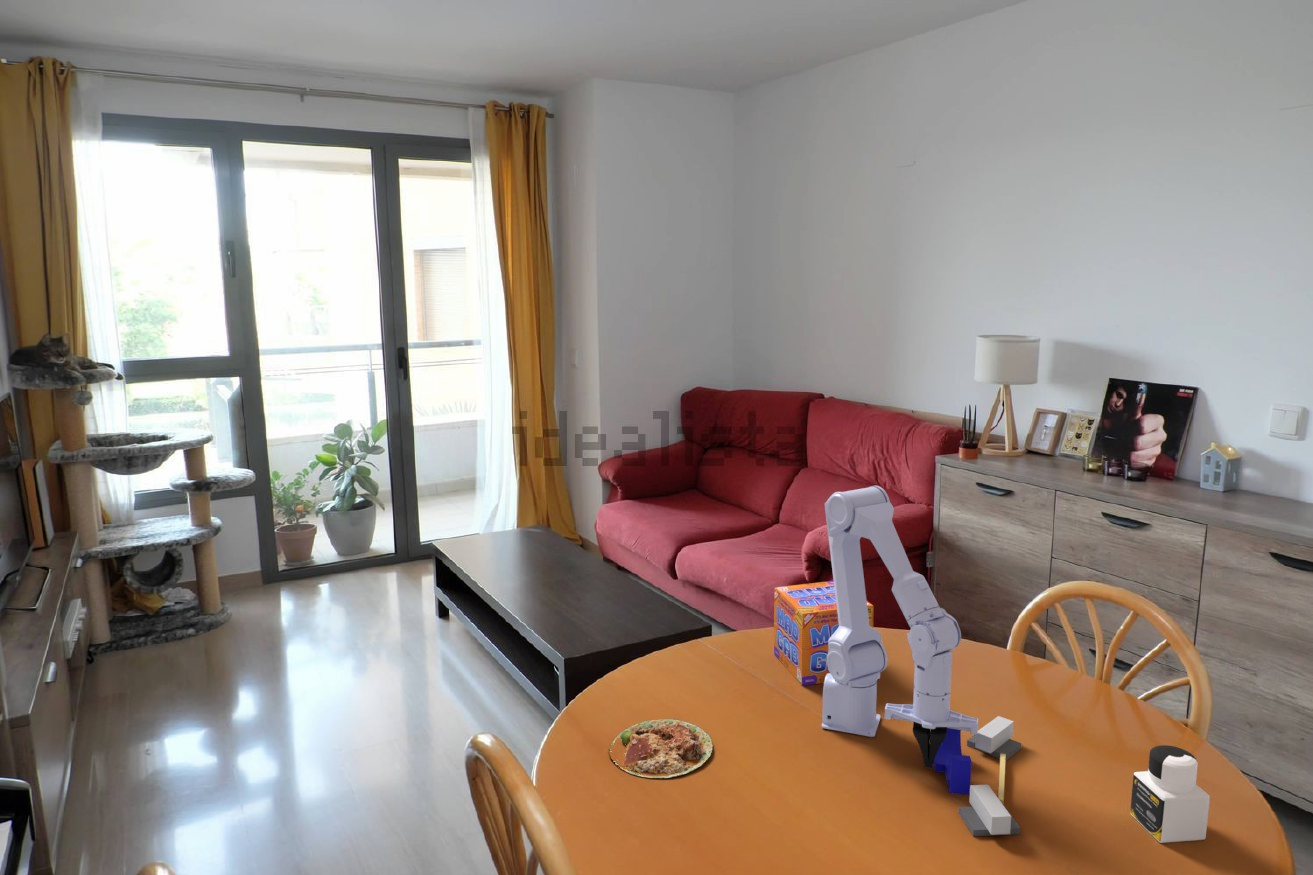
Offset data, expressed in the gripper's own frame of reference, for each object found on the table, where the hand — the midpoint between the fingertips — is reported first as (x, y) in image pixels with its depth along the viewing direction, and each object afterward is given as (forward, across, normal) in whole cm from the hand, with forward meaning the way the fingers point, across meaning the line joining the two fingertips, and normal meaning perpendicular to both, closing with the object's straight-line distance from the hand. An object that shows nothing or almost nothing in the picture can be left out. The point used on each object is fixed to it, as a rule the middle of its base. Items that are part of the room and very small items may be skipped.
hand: (928, 764), depth 144 cm
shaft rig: (+1, +10, 0) cm, 10 cm away
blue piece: (+1, +3, +1) cm, 4 cm away
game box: (+1, -25, +33) cm, 41 cm away
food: (+2, -44, -10) cm, 45 cm away
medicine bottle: (+1, +34, -3) cm, 34 cm away
